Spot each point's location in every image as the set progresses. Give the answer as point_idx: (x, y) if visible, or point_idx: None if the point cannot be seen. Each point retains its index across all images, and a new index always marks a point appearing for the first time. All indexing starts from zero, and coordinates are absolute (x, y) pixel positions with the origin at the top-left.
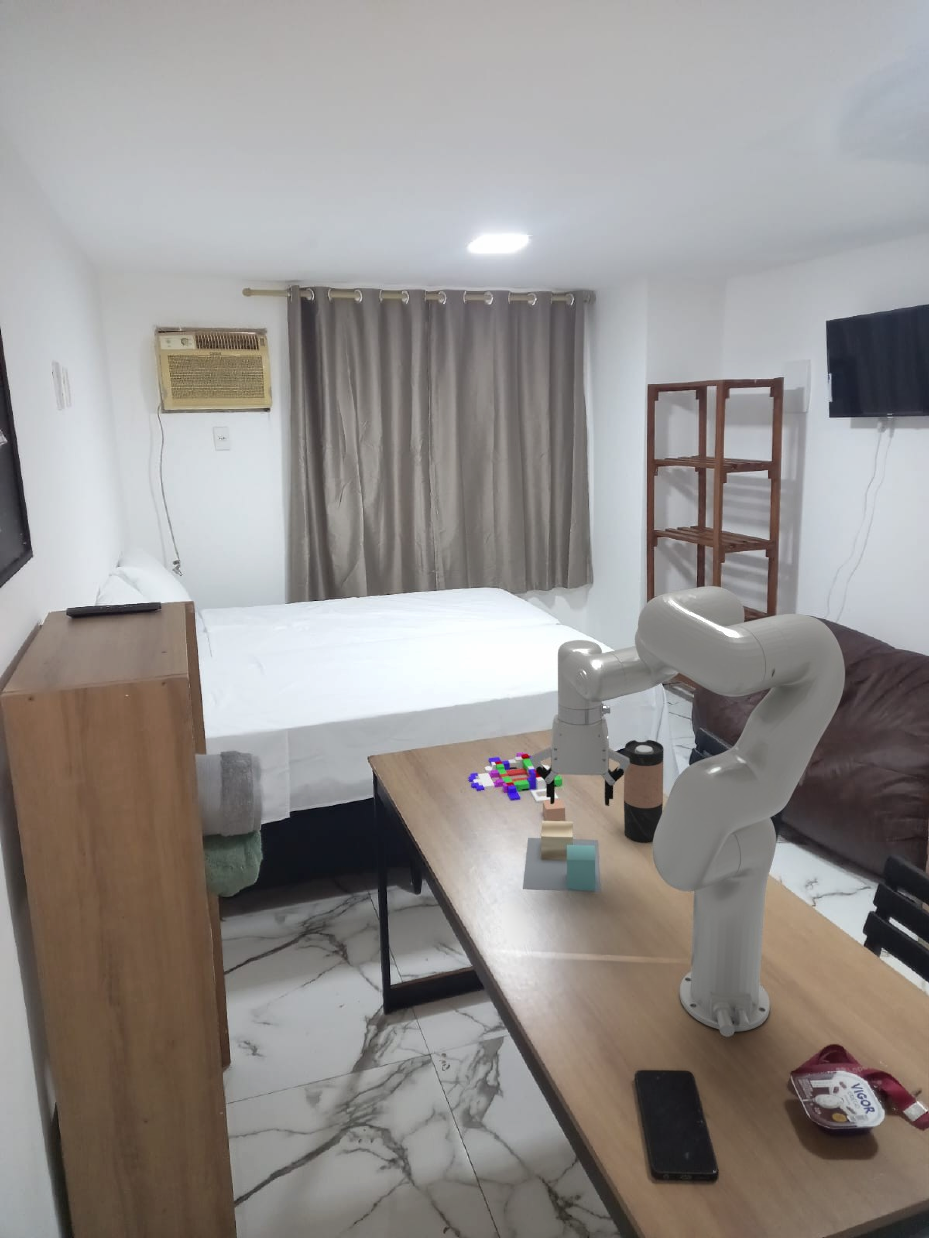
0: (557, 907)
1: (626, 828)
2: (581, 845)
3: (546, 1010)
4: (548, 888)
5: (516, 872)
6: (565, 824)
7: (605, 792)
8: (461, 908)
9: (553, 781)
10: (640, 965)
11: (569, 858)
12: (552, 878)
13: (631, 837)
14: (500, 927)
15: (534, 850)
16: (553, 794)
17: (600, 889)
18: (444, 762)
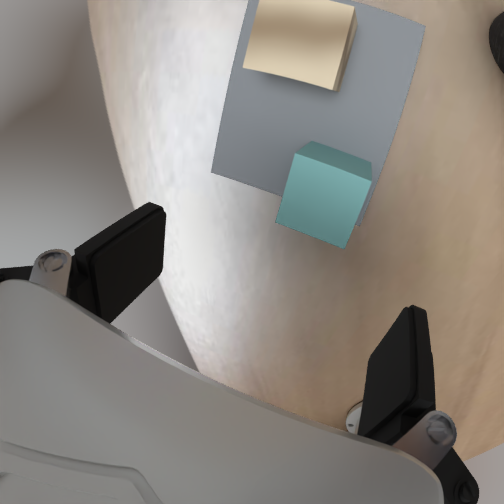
0: (269, 226)
1: (501, 40)
2: (334, 169)
3: (219, 371)
4: (258, 183)
5: (214, 96)
6: (328, 16)
7: (362, 411)
8: (129, 187)
9: (96, 300)
10: (339, 367)
11: (283, 219)
12: (274, 151)
13: (502, 61)
14: (177, 245)
15: None
16: (133, 295)
17: (361, 219)
18: None
